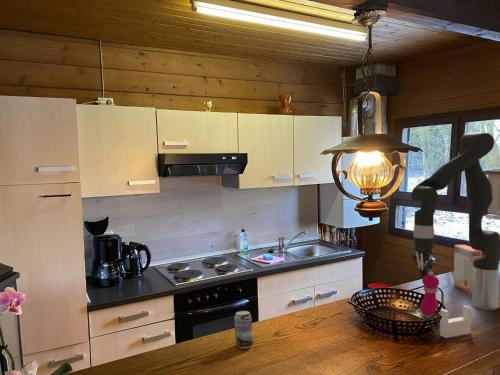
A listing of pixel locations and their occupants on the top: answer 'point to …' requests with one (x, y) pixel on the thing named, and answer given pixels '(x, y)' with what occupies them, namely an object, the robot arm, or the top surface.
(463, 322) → the u rest
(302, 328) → the top surface
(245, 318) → the beverage can
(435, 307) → the pepper mill
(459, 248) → the cracker box
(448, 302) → the top surface
